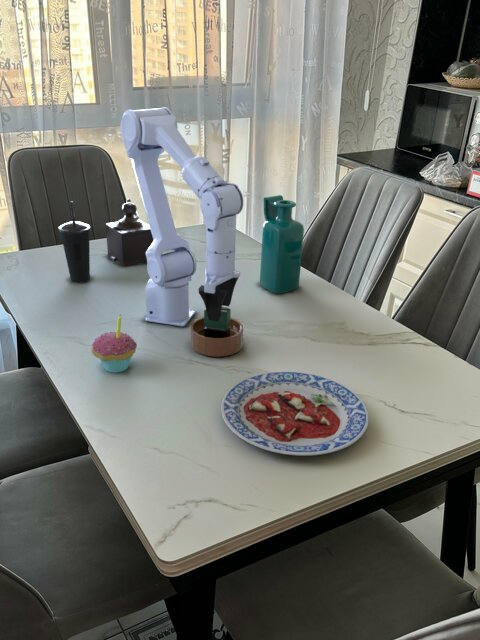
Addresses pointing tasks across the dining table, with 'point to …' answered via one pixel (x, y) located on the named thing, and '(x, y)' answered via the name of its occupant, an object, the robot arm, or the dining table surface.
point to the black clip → (216, 332)
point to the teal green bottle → (280, 246)
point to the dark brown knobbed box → (128, 237)
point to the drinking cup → (76, 248)
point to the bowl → (216, 339)
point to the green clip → (223, 321)
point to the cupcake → (114, 349)
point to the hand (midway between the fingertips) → (219, 312)
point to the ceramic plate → (294, 413)
